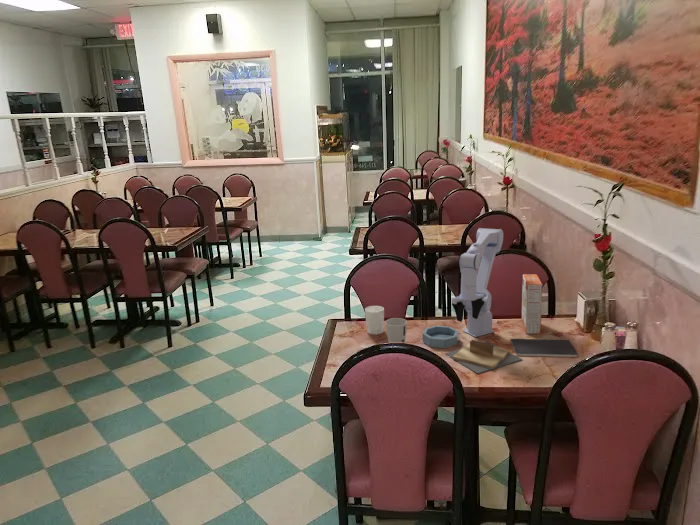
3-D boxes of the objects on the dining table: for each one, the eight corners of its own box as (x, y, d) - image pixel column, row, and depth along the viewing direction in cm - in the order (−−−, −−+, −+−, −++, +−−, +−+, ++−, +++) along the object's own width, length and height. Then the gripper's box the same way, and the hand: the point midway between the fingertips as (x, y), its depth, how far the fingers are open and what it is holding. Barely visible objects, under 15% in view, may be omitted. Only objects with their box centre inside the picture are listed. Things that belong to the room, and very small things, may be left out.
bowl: (444, 331, 206) (444, 323, 205) (464, 342, 195) (464, 334, 194) (417, 338, 201) (416, 330, 200) (436, 350, 189) (436, 341, 188)
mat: (487, 342, 194) (487, 341, 194) (522, 360, 178) (522, 359, 178) (445, 354, 185) (445, 353, 185) (477, 374, 170) (477, 373, 170)
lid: (471, 343, 192) (471, 331, 191) (509, 353, 183) (509, 340, 182) (452, 358, 181) (452, 345, 180) (492, 369, 172) (493, 355, 171)
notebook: (568, 343, 191) (510, 342, 194) (569, 339, 190) (510, 338, 194) (578, 358, 178) (515, 356, 182) (578, 354, 178) (515, 352, 182)
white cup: (388, 329, 211) (387, 307, 208) (378, 336, 204) (378, 313, 202) (371, 326, 215) (371, 304, 212) (362, 333, 209) (361, 310, 206)
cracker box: (520, 321, 213) (522, 273, 207) (535, 321, 212) (537, 273, 206) (524, 334, 200) (526, 283, 194) (540, 334, 198) (543, 284, 193)
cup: (406, 350, 190) (405, 326, 188) (384, 350, 192) (384, 325, 189) (408, 342, 198) (407, 318, 195) (387, 341, 200) (386, 317, 197)
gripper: (476, 280, 196) (474, 314, 199) (446, 284, 190) (445, 319, 192) (489, 284, 190) (487, 319, 193) (459, 288, 184) (457, 324, 186)
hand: (467, 319), depth 192 cm, fingers open, 7 cm apart
